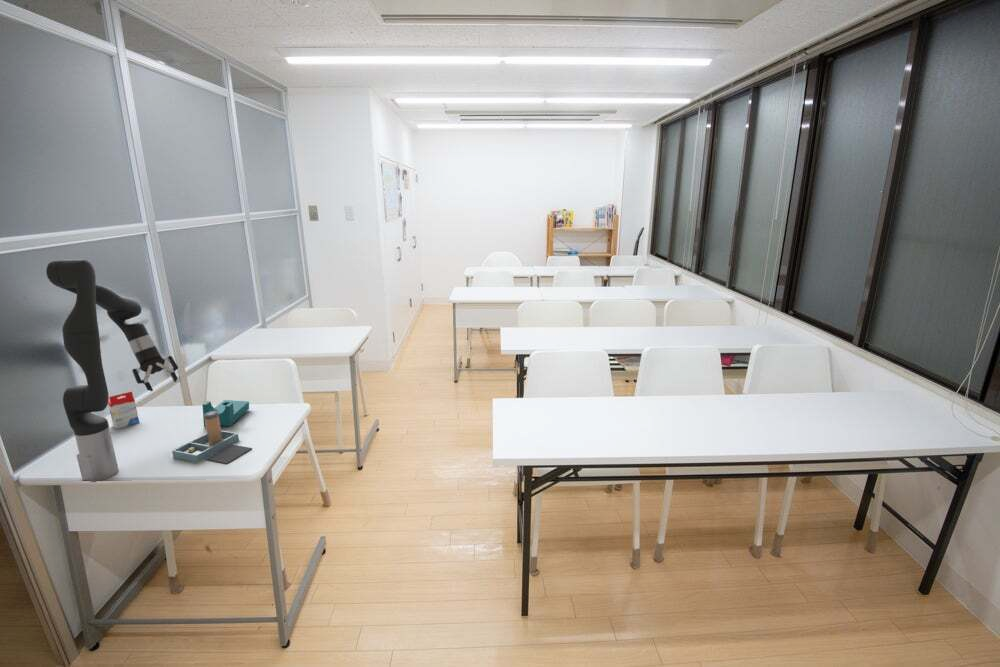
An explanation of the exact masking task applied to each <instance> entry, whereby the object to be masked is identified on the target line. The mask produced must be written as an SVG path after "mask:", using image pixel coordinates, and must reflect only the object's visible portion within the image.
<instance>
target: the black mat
mask: <svg viewBox="0 0 1000 667" xmlns="http://www.w3.org/2000/svg"><path fill="white" fill-rule="evenodd" d="M252 450H253V448H252V447H249V446H243V445H238V444H234V443H233V444H231V445H229V446H227V447H226V448H224V449H222V450H220V451H218V452H217V453H215V454H213V455H211V456H209V457H208V458H206V459H205V461H208V462H213V463H214V462H215V463H218V464H223V465H228V464H230V463H232V462H234V461H235V460H237V459H238V458H240V457H241V456H243V455H245V454H247V453H248V452H250V451H252Z"/></svg>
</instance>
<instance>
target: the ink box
mask: <svg viewBox="0 0 1000 667" xmlns="http://www.w3.org/2000/svg"><path fill="white" fill-rule="evenodd" d="M107 406H108V410H109V413H110V417H111V422H112V425H113V426H112V427H114V428H115V429H116V430H117V429H121V428H124V427H128V426H132V425H135V424H138V423H140V420H139V415H138V414H139V413H138V410H137V405H136V400H135V397H134V395H133V391H128V392H124V393H120V394H116V395H111V396H109V400H108V405H107Z"/></svg>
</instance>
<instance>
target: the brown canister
mask: <svg viewBox="0 0 1000 667" xmlns="http://www.w3.org/2000/svg"><path fill="white" fill-rule="evenodd" d="M204 419H205V425H206V427H205V431H206V433H207V436H208V441H207V442H208V446H214V445H216V444H217V443H219V442H221V441H223V440H224V439H223V438H222V434H221V430H222V429H221V425H220V422H219V413H218V412H217V411H212V412H208V413H205V414H204Z"/></svg>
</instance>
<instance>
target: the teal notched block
mask: <svg viewBox="0 0 1000 667" xmlns="http://www.w3.org/2000/svg"><path fill="white" fill-rule="evenodd" d="M249 410H250V402H249V400H248V401H246V400H245V401H244V400H231V399H224V400H223V401H221V402H220V403H219V404H218V405H216V406H214V407H213V404H212V402H211V401H209V400H207V401H205V402H204V403H203V404H202V416H203V417H202V418H203V427H204V428H206V425H205V419H204V414H205V413H208V412H212V411H217V412H218V413H219V422H220V426H225V427H226V426H227V427H230V426H232V425H233V423H234V424H235V422H236V421H237V420H239V419H240V418H241V417H242V416H243V415H244V414H245V413H246V412H248V411H249Z"/></svg>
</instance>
